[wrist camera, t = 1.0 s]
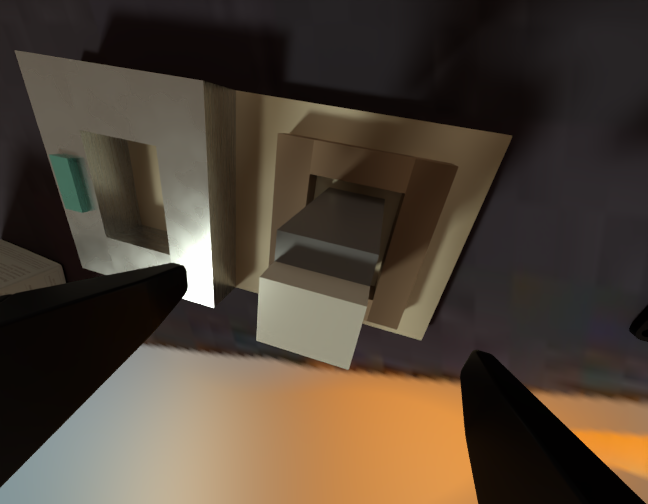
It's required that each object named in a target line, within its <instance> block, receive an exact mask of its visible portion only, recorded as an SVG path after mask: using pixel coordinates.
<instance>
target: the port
mask: <svg viewBox="0 0 648 504" xmlns="http://www.w3.org/2000/svg"><path fill="white" fill-rule="evenodd" d="M15 53H16V56H17V60H18V63H19V66H20V69H21V72H22V76H23V79H24V82H25V85H26V88H27V92H28V95H29V98H30V101H31V104H32V108H33V111H34V114H35V117H36V120H37V124H38V127H39V130H40V133H41V136H42V140H43V143H44V146H45V149H46V152H47V156H48V159H49V162H50V165H51V168H52V172H53V175H54V178H55V181H56V184H57V188H58V191H59V194H60V197H61V200H62V204H63V207H64V210H65V213H66V216H67V220H68V223H69V226H70V229H71V232H72V236H73V239H74V242H75V245H76V248H77V251H78V255H79V258H80V261H81V264H82V267H83V268H85V269H88V270H91V271H95V272H98V273H101V274H104V275H111V274H116V273H121V272H126V271H131V270H136V269H141V268H146V267H152V266H157V265H162V264H167V263H177V264H180V265H183V266H185V268H186V270H187V280H188V290H187V292H186V294H185V295H184V296H183V299H186V300H189V301H193V302H196V303H199V304H203V305H206V306H209V307H212V308H215V307H216V306H217V305H218V304H219V303H220V302H221V301H222V300H223V299H224V298H225V297H226V296H227V295H228V294H229V293H230V292H231V291H232V290H233V289H234V288H235V287H236V90H233V89H230V88H226V87H223V86H219V85H216V84H213V83H209V82H206V81H202V80H196V79H190V78H184V77H177V76H171V75H165V74H159V73H153V72H146V71H140V70H134V69H128V68H121V67H115V66H109V65H103V64H97V63H90V62H84V61H78V60H72V59H65V58H59V57H53V56H47V55H41V54H34V53H28V52H22V51H16V50H15ZM127 140H130V141H134V142H139V143H144V144H149V145H153V146H156V150H157V158H158V165H159V173H160V181H161V188H162V196H163V204H164V211H165V219H166V227H167V231H164V230H160V229H156V228H152V227H149V226H145V225H142V223H141V217H140V211H139V206H138V200H137V194H136V189H135V183H134V177H133V172H132V166H131V160H130V155H129V149H128V143H127Z"/></svg>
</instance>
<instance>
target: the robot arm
mask: <svg viewBox="0 0 648 504" xmlns="http://www.w3.org/2000/svg"><path fill="white" fill-rule="evenodd" d="M187 290H188V280H187V270H186V268H185V266H183V265H180V264H177V263H167V264H162V265H157V266H152V267H146V268H141V269H136V270H131V271H126V272H121V273H116V274H111V275H105V276H100V277H95V278H90V279H85V280H80V281H75V282H69V283H64V284H59V285H54V286H49V287H44V288H39V289H34V290H28V291H23V292H18V293H15V294H13V295H12V294H7V295H2V296H0V487H1V486H2V485H3V484H4V483H5V482H6V481H7V480H8V479H9V478H10V477H11V476H12V475H13V474H14V473H15V472H16V471H17V470H18V469H19V468H20V467H21V466H22V465H23V464H24V463H25V462H26V461H27V460H28V459H29V458H30V457H31V456H32V455H33V454H34V453H35V452H36V451H37V450H38V449H39V448H40V447H41V446H42V445H43V444H44V443H45V442H46V441H47V440H48V439H49V438H50V437H51V436H52V434H54V433H55V432H56V431H57V430H58V429H59V428H60V427H61V426H62V425H63V424H64V423H65V421H67V419H69V417H70V416H71V415H73V413H74V412H75V411H76V410H77V409H78V408H79V407H80V406H81V405H82V404H83V403H84V402H85V401H86V400H87V399H88V398H89V397H90V396H91V395H92V394H93V393H94V392H95V391H96V390H97V389H98V388H99V387H100V386H101V385H102V384H103V383H104V382H105V381H106V380H107V379H108V378H109V377H110V376H111V375H112V374H113V373H114V372H115V371H116V370H117V369H118V368H119V367H120V366H121V365H122V364H123V363H124V362H125V361H126V360H127V359H128V358H129V357H130V356H131V355H132V354H133V353H134V352H135V351H136V350H137V349H138V348H139V347H140V346H141V345H142V344H143V343H144V342H145V341H146V340H147V339H148V338H149V337H150V335H151V334H152V333H153V332H154V331H155V330H156V329H157V328H158V327H159V325H160V324H161V323H162V322H163V321H164V319H165V318H166V317H167V316H168V315H169V313H170V312H171V311H172V310H173V309H174V307H175V306H176V305H177V304H178V302H179V301H180V300H181V299H182V298H183V296H184V295H185V294H186V292H187ZM644 330H646V331H644ZM629 331H630V332H631V333H632V334H633V335H634V336H635V337H637V338H638V339H640V340H643V341H647V342H648V307H647V308H646V309H645V311H644V312H643V313H642V314H641V315H640V316H639V317H638V318H637V319H636V320H635V321H634V323H633V324H632V325H631V326H630V328H629ZM460 380H461V392H462V403H463V416H464V427H465V436H466V442H467V448H468V452H469V458H470V463H471V468H472V473H473V479H474V484H475V489H476V494H477V500H478V504H646V503H645V502H644V501H643V500H642V499H641V498H640V497H639V496H638V495H637V494H635V493H634V492H633V491H632V490H631V489H630V488H629V487H628V486H627V485H626V484H625V483H624V482H623V481H622V480H621V479H620V478H619V477H618V476H617V475H616V474H615V473H614V472H613V471H612V470H611V469H610V468H609V467H608V466H607V465H606V464H605V463H603V462H602V461H601V460H600V459H599V458H598V457H597V456H596V455H595V454H594V453H593V452H592V451H591V450H590V449H589V448H588V447H587V446H586V445H585V444H584V443H583V442H582V441H581V440H580V439H579V438H578V437H577V436H576V435H575V434H574V433H573V432H571V431H570V430H569V429H568V428H567V427H566V426H565V425H564V424H563V423H562V422H561V421H560V420H559V419H558V418H557V417H556V416H555V415H554V414H553V413H552V412H551V411H550V410H549V409H548V408H547V407H546V406H545V405H544V404H543V403H542V402H541V401H539V400H538V399H537V398H536V397H535V396H534V395H533V394H532V393H531V392H530V391H529V390H528V389H527V388H526V387H525V386H524V385H523V384H522V383H521V382H520V381H519V380H518V379H517V378H516V377H515V376H514V375H513V374H512V373H511V372H510V371H509V370H507V369H506V368H505V367H504V366H503V365H502V364H501V363H500V362H499V361H498V360H497V359H496V358H495V357H494V356H493V355H492V354H490V353H486V352H483V351H479V350H474V351H473V352H472V353H471V354H470V356H469V358H468V359H467V361H466V363H465V365H464V366H463V368H462V370H461V374H460Z"/></svg>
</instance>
